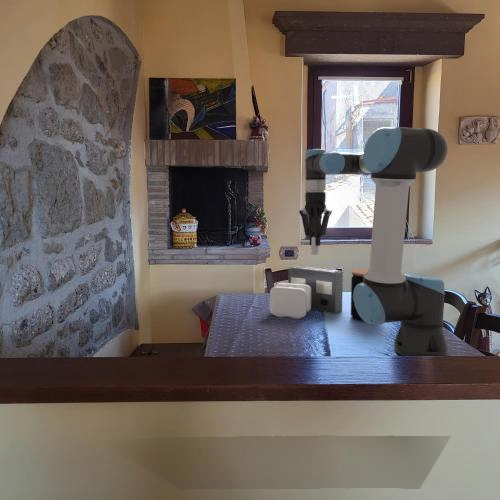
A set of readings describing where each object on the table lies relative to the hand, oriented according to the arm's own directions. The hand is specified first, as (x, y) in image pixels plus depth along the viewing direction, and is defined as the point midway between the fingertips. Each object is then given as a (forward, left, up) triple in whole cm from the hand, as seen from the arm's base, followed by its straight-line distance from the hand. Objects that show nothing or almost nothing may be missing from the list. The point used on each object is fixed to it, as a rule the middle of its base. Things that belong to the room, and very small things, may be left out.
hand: (314, 254), depth 170 cm
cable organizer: (-3, +9, -25) cm, 26 cm away
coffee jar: (+9, -17, -25) cm, 31 cm away
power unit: (+11, +6, -24) cm, 27 cm away
